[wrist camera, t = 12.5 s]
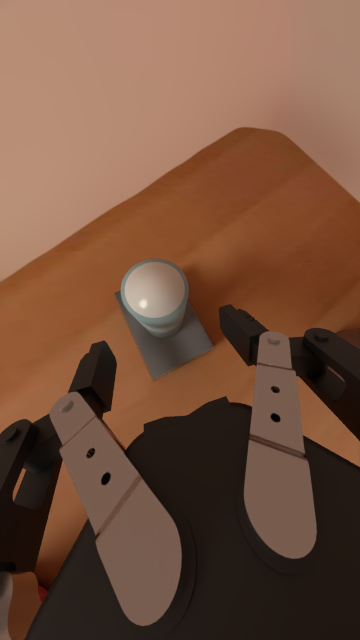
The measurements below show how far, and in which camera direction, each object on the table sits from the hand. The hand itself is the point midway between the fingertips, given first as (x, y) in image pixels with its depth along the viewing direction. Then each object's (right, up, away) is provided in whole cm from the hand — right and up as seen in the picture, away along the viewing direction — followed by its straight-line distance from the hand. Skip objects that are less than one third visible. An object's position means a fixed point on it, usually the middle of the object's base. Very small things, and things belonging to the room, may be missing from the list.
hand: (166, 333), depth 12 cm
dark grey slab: (-1, 0, +14) cm, 14 cm away
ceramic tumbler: (-1, +1, +10) cm, 11 cm away
